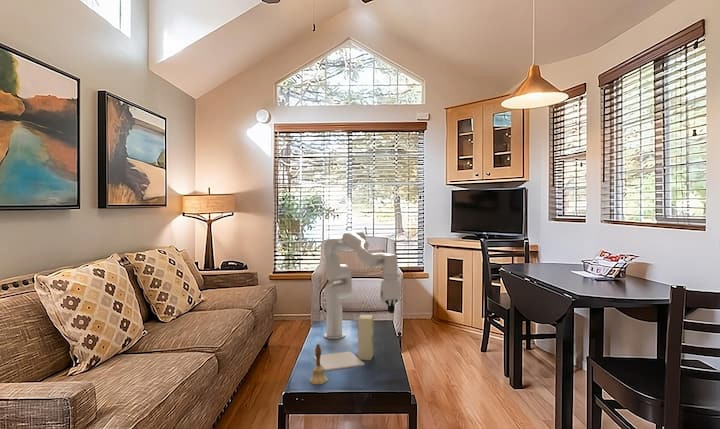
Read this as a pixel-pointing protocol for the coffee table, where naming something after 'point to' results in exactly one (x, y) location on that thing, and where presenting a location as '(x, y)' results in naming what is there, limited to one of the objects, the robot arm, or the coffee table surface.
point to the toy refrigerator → (365, 337)
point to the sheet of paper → (339, 361)
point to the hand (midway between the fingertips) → (391, 312)
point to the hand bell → (318, 369)
